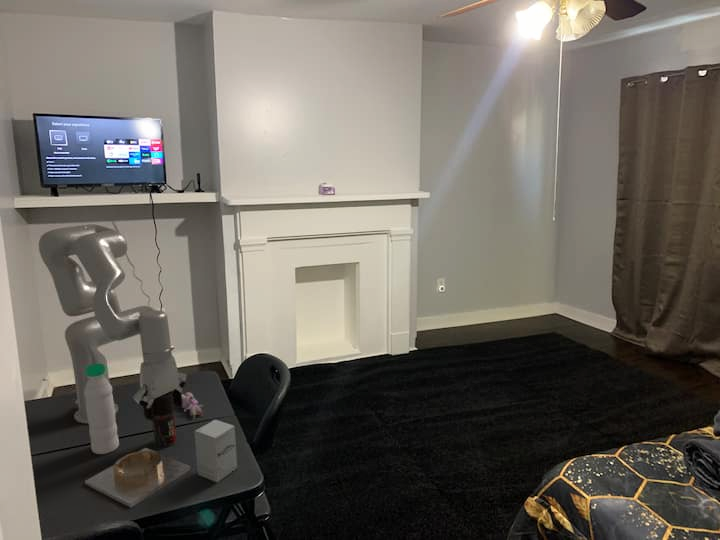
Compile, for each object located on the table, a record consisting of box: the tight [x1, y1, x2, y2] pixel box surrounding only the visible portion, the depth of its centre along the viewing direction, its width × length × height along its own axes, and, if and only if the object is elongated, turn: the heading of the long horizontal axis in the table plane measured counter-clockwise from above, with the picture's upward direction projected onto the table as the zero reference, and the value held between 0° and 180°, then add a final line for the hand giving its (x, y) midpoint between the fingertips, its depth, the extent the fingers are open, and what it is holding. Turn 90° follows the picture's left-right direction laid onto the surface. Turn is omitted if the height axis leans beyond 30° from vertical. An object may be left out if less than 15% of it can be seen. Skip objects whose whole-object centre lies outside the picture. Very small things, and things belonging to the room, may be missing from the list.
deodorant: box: [151, 391, 178, 449], centre depth 156 cm, size 6×6×15 cm
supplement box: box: [194, 419, 238, 483], centre depth 142 cm, size 7×7×13 cm
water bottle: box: [84, 364, 120, 455], centre depth 152 cm, size 7×7×25 cm
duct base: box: [84, 447, 191, 508], centre depth 141 cm, size 18×18×4 cm
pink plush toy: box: [181, 391, 204, 420], centre depth 176 cm, size 6×6×15 cm
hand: (164, 412), depth 155 cm, fingers open, 9 cm apart
